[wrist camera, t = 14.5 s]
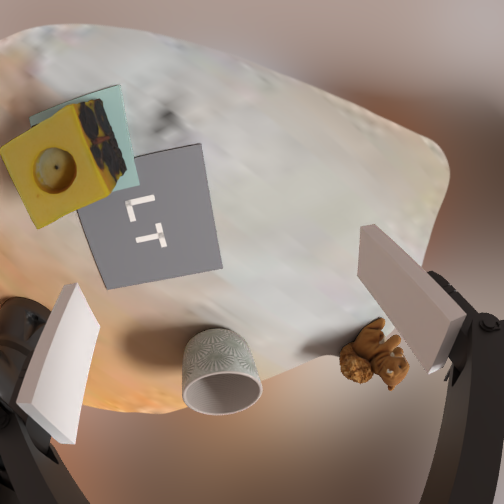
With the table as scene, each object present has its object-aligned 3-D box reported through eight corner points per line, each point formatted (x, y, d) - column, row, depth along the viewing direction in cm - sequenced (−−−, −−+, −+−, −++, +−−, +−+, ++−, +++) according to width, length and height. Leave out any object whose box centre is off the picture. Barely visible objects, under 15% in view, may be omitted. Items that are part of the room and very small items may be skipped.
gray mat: (107, 288, 43) (107, 289, 43) (68, 176, 34) (67, 176, 34) (222, 267, 45) (223, 268, 45) (201, 143, 36) (201, 144, 35)
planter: (166, 340, 50) (165, 391, 41) (228, 308, 49) (238, 360, 40) (205, 375, 56) (211, 422, 47) (261, 350, 55) (275, 397, 46)
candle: (36, 132, 29) (-5, 148, 21) (101, 95, 30) (71, 98, 21) (65, 199, 35) (34, 233, 26) (130, 169, 35) (111, 196, 26)
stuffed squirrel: (388, 342, 63) (416, 384, 52) (332, 367, 63) (354, 414, 52) (389, 312, 58) (423, 357, 46) (327, 339, 58) (353, 391, 46)
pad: (54, 206, 35) (52, 208, 35) (30, 116, 29) (28, 117, 28) (140, 183, 37) (139, 185, 36) (120, 84, 30) (119, 84, 30)
